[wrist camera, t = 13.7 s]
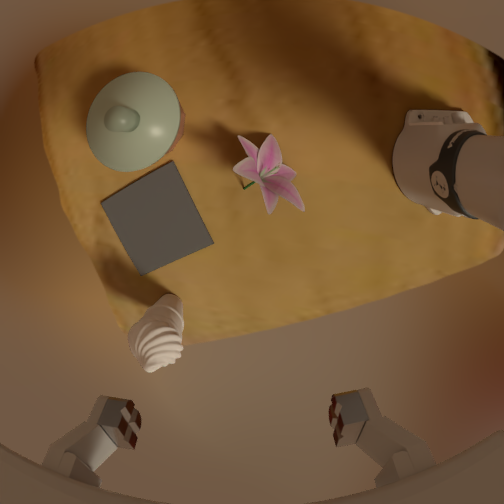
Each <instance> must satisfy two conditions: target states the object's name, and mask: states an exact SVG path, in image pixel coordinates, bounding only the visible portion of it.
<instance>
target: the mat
mask: <svg viewBox="0 0 504 504" xmlns="http://www.w3.org/2000/svg"><path fill="white" fill-rule="evenodd" d="M101 204H102V206H103V208H104V210H105V212H106V214H107V216H108V218H109V220H110V222H111V224H112V226H113V228H114V230H115V231H116V233H117V235H118V237H119V239H120V241H121V242H122V244H123V246H124V248H125V250H126V251H127V253H128V255H129V256H130V258H131V260H132V262H133V263H134V265H135V267H136V268H137V270H138V272H139V273H140V275H141V276H142V275H144V274H147V273H149V272H151V271H153V270H155V269H158V268H160V267H162V266H164V265H167V264H169V263H171V262H173V261H175V260H178V259H180V258H182V257H184V256H187V255H189V254H191V253H194V252H196V251H198V250H200V249H203V248H205V247H207V246H210V245H212V244H214V242H213V240H212V238H211V236H210V234H209V232H208V230H207V228H206V226H205V224H204V222H203V220H202V218H201V216H200V214H199V212H198V210H197V208H196V206H195V204H194V202H193V200H192V198H191V196H190V194H189V192H188V190H187V188H186V186H185V184H184V182H183V180H182V178H181V176H180V174H179V172H178V170H177V167H176V165H175V163H174V161H172V162H170V163H168V164H167V165H165V166H163V167H161V168H159V169H157V170H156V171H154V172H152V173H150V174H148V175H147V176H145V177H143V178H141V179H140V180H138V181H136V182H134V183H133V184H131V185H129V186H128V187H126V188H124V189H123V190H121V191H120V192H118V193H116V194H115V195H113V196H111V197H110V198H108V199H107V200H105V201H104V202H102V203H101Z"/></svg>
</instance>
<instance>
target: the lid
mask: <svg viewBox="0 0 504 504" xmlns="http://www.w3.org/2000/svg"><path fill="white" fill-rule="evenodd" d="M180 121H181V110H180V104H179V100H178V98H177V95H176V93H175V92H174V90H173V89H172V87H171V86H170V85H169V84H168V83H167V82H166V81H164V80H163V79H161V78H160V77H158V76H156V75H154V74H151V73H147V72H132V73H127V74H124V75H122V76H119V77H117V78H115V79H114V80H112V81H111V82H109V83H108V84H107V85H106V86H105V87H104V88H103V89H102V90H101V91H100V92H99V93H98V94H97V96H96V98H95V99H94V101H93V103H92V105H91V107H90V110H89V113H88V117H87V123H86V133H87V139H88V143H89V146H90V148H91V150H92V152H93V154H94V155H95V157H96V158H97V159H98V160H99V161H100V162H101V163H102V164H104V165H105V166H107V167H109V168H111V169H113V170H117V171H123V172H130V171H136V170H140V169H143V168H146V167H148V166H150V165H152V164H154V163H155V162H157V161H158V160H159V159H161V158H162V157H163V156H164V155H165V154H166V153H167V151H168V150H169V149H170V147H171V146H172V144H173V142H174V141H175V139H176V136H177V134H178V131H179V127H180Z"/></svg>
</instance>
